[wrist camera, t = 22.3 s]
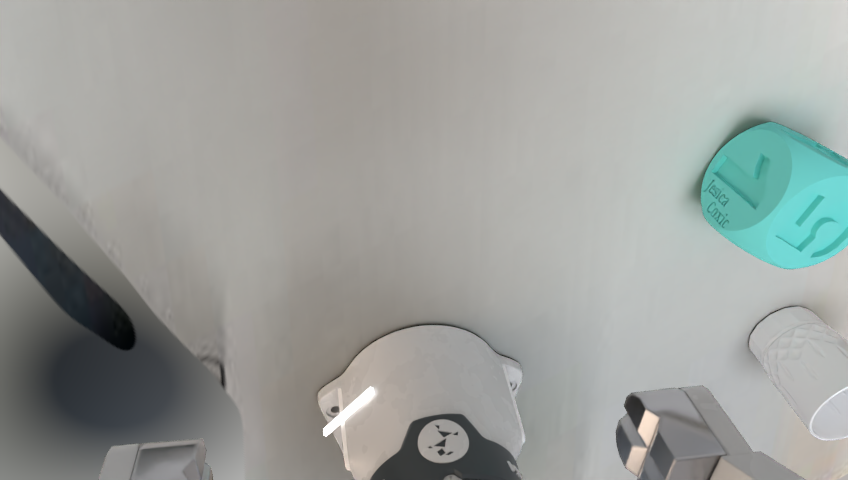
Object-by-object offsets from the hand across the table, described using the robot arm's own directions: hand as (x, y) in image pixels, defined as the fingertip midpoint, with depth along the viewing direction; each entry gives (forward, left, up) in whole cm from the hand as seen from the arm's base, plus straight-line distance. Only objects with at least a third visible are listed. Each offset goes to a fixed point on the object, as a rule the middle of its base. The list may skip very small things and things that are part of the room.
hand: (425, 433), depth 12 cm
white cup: (-33, -40, -31) cm, 61 cm away
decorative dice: (-14, -31, -31) cm, 46 cm away
